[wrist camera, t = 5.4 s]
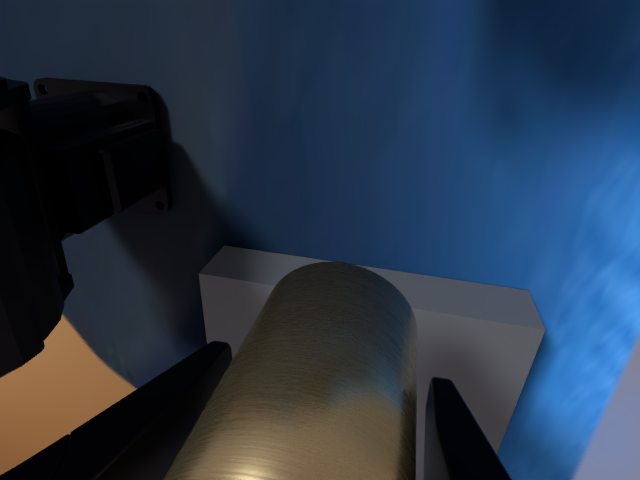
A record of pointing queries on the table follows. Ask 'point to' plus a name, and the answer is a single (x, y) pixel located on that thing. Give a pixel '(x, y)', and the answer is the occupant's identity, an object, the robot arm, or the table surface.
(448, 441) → the robot arm
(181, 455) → the brass fitting
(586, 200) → the table surface
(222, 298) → the flange socket
